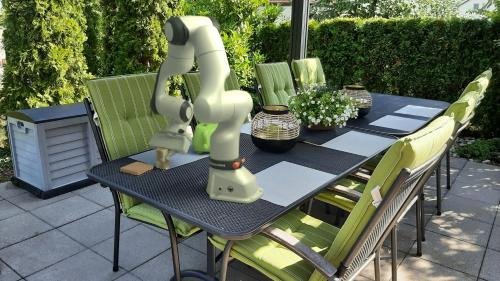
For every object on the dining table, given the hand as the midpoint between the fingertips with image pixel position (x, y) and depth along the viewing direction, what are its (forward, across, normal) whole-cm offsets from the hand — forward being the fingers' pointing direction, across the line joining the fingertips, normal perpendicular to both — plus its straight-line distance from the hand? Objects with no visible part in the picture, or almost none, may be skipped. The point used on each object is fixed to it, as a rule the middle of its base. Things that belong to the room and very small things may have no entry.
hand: (161, 158), depth 169 cm
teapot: (-22, +5, +29) cm, 36 cm away
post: (+3, 0, +4) cm, 5 cm away
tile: (+9, -8, -1) cm, 12 cm away
